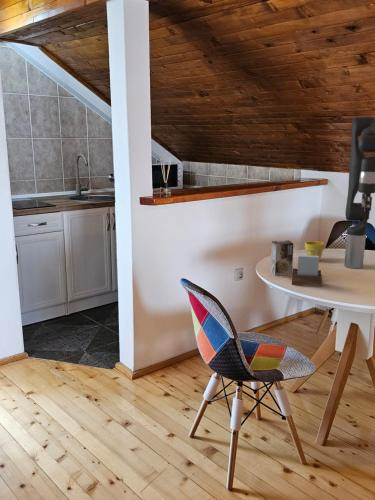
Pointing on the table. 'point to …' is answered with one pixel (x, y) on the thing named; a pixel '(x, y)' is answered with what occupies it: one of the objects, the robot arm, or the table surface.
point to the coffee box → (282, 258)
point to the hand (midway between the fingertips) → (365, 218)
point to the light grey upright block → (308, 265)
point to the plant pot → (314, 248)
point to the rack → (306, 279)
